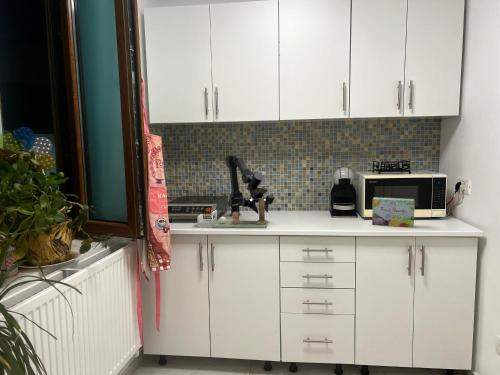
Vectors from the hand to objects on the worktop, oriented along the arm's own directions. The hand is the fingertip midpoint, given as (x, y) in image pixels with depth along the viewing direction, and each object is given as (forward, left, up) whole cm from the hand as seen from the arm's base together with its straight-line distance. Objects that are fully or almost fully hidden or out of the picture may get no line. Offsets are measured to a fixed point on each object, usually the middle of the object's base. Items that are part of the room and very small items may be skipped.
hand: (262, 212), depth 204 cm
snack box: (-3, +71, -8) cm, 72 cm away
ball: (-1, -23, -5) cm, 24 cm away
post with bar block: (-1, -8, -6) cm, 10 cm away
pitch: (-1, -18, -8) cm, 19 cm away
